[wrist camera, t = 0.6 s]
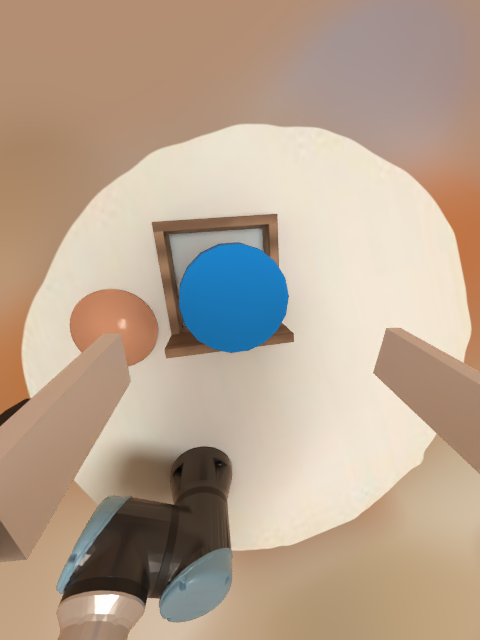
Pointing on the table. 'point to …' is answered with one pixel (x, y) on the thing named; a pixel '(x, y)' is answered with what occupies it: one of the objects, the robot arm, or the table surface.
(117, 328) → the terracotta disc
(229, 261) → the thermos
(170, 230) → the frame
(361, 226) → the table surface
